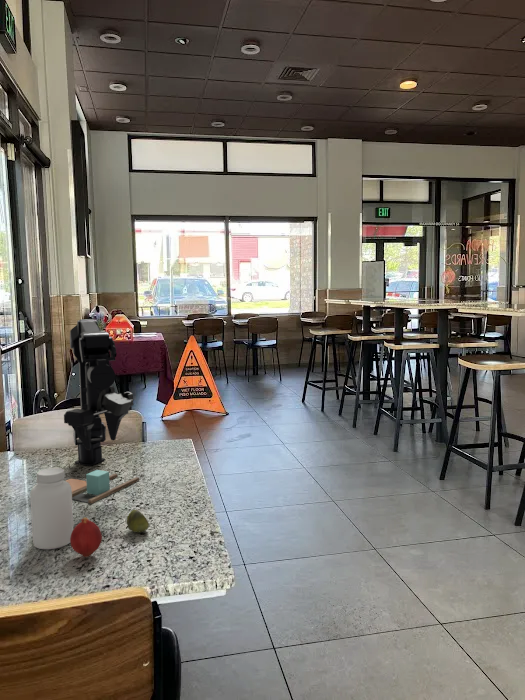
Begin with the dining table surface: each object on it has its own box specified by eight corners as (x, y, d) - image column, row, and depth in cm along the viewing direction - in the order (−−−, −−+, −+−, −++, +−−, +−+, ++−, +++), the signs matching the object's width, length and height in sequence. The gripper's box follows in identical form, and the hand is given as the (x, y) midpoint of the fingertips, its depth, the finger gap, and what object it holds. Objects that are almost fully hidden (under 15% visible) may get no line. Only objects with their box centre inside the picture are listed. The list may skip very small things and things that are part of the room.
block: (87, 493, 143) (86, 474, 142) (98, 488, 146) (97, 469, 146) (99, 495, 141) (98, 476, 140) (109, 490, 145) (109, 471, 144)
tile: (48, 490, 145) (47, 487, 145) (71, 481, 152) (71, 478, 152) (70, 495, 141) (70, 492, 141) (93, 485, 148) (93, 482, 148)
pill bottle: (82, 536, 118) (78, 466, 116) (56, 553, 110) (52, 479, 109) (51, 531, 120) (47, 463, 119) (24, 547, 113) (19, 475, 111)
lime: (129, 527, 121) (128, 505, 121) (151, 527, 121) (151, 505, 121) (124, 536, 117) (123, 513, 117) (147, 536, 117) (146, 513, 116)
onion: (75, 550, 111) (73, 511, 110) (105, 548, 112) (103, 510, 111) (68, 564, 105) (65, 524, 105) (99, 563, 106) (97, 522, 105)
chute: (65, 498, 139) (65, 495, 139) (114, 476, 155) (114, 473, 155) (91, 503, 136) (91, 500, 135) (139, 480, 152) (139, 477, 151)
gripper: (97, 391, 127) (101, 458, 128) (147, 379, 144) (149, 438, 145) (60, 388, 131) (64, 453, 133) (112, 377, 148) (115, 434, 150)
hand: (100, 444), depth 140 cm, fingers open, 9 cm apart
